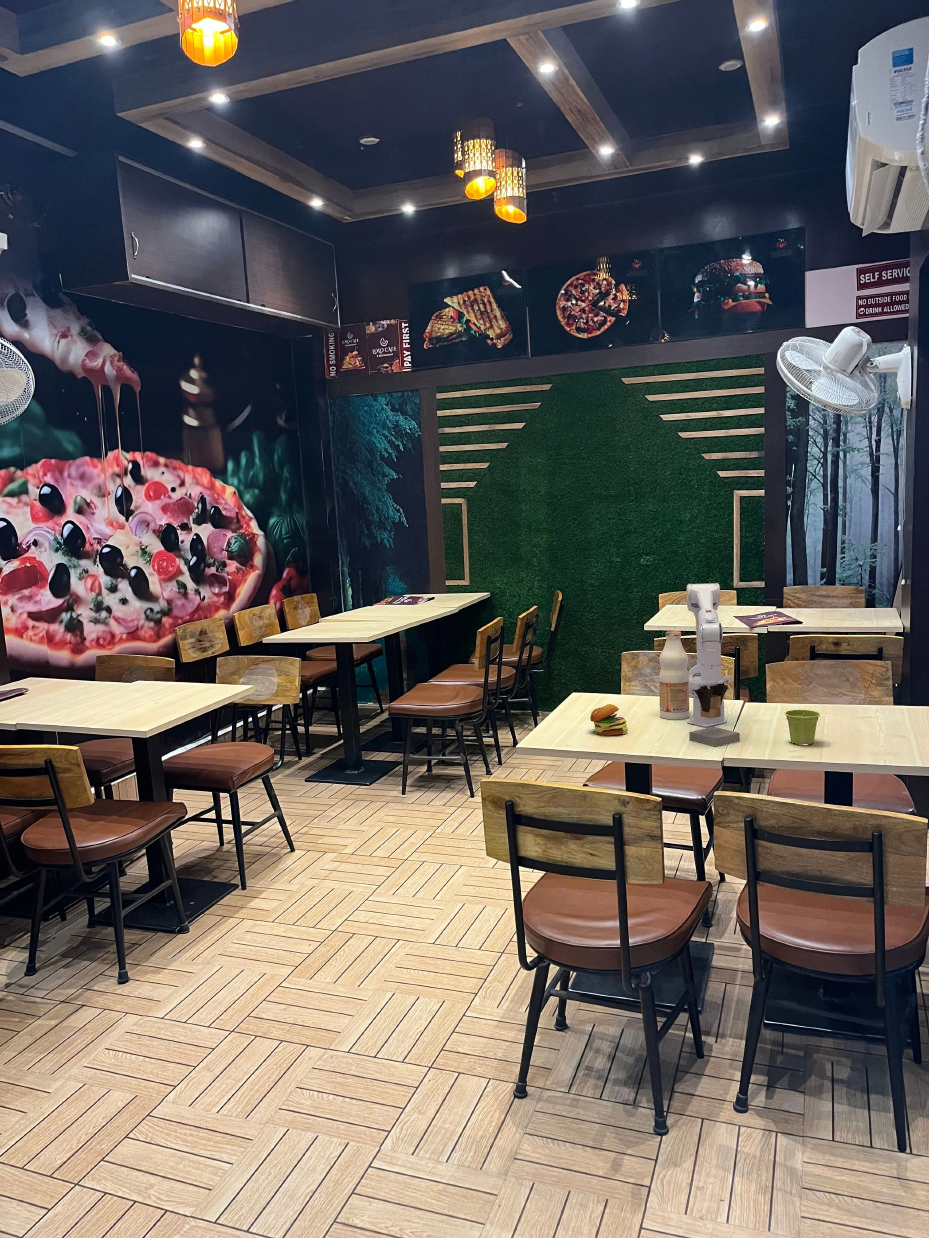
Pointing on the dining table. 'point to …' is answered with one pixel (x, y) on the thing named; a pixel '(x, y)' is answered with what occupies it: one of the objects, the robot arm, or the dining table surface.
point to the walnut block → (713, 708)
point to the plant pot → (802, 725)
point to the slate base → (714, 736)
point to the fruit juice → (673, 679)
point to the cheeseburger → (608, 721)
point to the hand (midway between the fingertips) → (711, 710)
